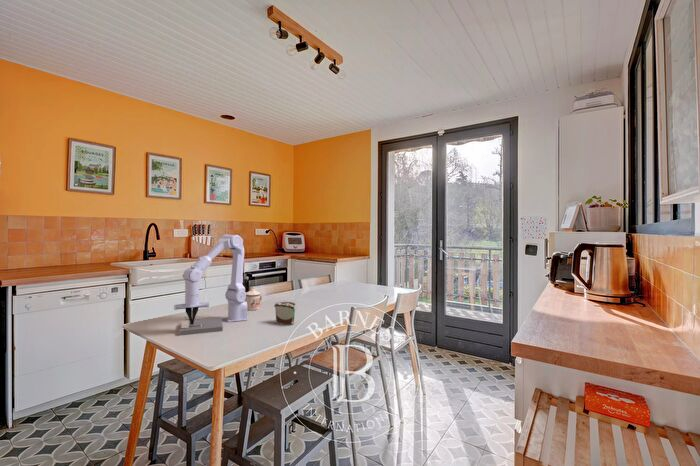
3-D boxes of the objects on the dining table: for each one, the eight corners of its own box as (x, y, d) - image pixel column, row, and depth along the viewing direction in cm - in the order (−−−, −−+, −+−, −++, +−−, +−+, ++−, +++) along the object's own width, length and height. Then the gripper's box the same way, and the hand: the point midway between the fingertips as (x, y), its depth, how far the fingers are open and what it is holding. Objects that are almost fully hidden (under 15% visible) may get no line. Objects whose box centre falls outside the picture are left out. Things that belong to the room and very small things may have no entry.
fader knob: (189, 324, 155) (189, 317, 154) (188, 327, 151) (188, 319, 150) (181, 325, 153) (182, 317, 153) (181, 328, 149) (181, 320, 149)
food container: (301, 322, 169) (301, 303, 169) (294, 326, 164) (294, 305, 163) (281, 319, 174) (281, 300, 174) (273, 322, 169) (274, 302, 168)
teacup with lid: (252, 311, 188) (252, 291, 187) (240, 309, 192) (240, 289, 192) (267, 307, 198) (267, 287, 198) (256, 304, 203) (256, 285, 202)
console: (221, 321, 168) (221, 317, 168) (222, 331, 154) (222, 326, 154) (181, 324, 161) (181, 320, 161) (178, 335, 147) (178, 330, 147)
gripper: (173, 297, 146) (173, 328, 146) (209, 295, 152) (209, 324, 152) (174, 294, 153) (174, 323, 153) (209, 292, 158) (209, 320, 159)
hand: (191, 323), depth 153 cm, fingers closed
